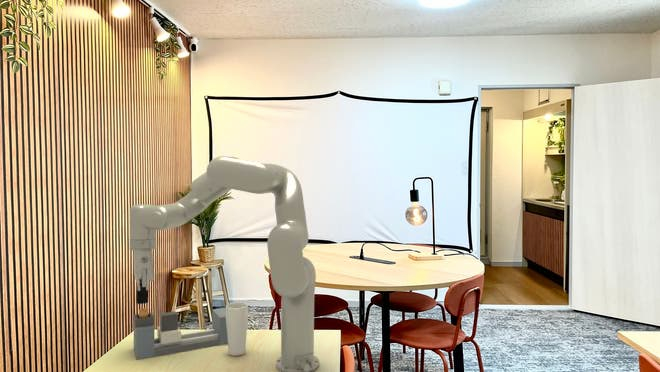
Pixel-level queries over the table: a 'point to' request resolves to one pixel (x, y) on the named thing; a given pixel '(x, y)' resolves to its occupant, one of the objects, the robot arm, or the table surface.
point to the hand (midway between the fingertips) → (142, 302)
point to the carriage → (168, 328)
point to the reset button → (143, 313)
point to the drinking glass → (236, 327)
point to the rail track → (190, 341)
